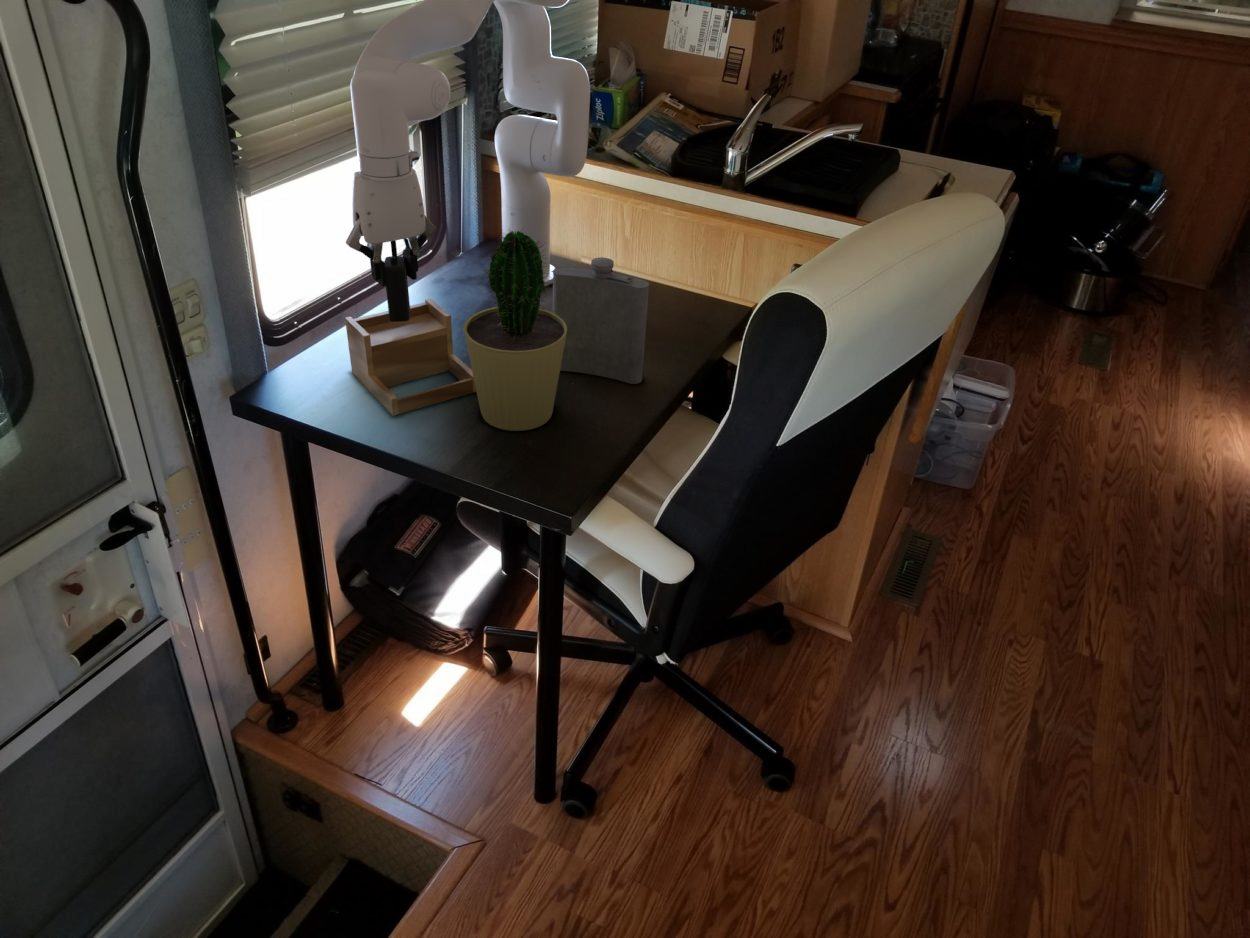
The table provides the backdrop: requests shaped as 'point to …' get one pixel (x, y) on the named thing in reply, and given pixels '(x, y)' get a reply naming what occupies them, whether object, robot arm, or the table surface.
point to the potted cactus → (516, 340)
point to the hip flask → (602, 320)
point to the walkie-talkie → (397, 286)
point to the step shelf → (406, 356)
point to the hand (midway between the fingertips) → (395, 278)
